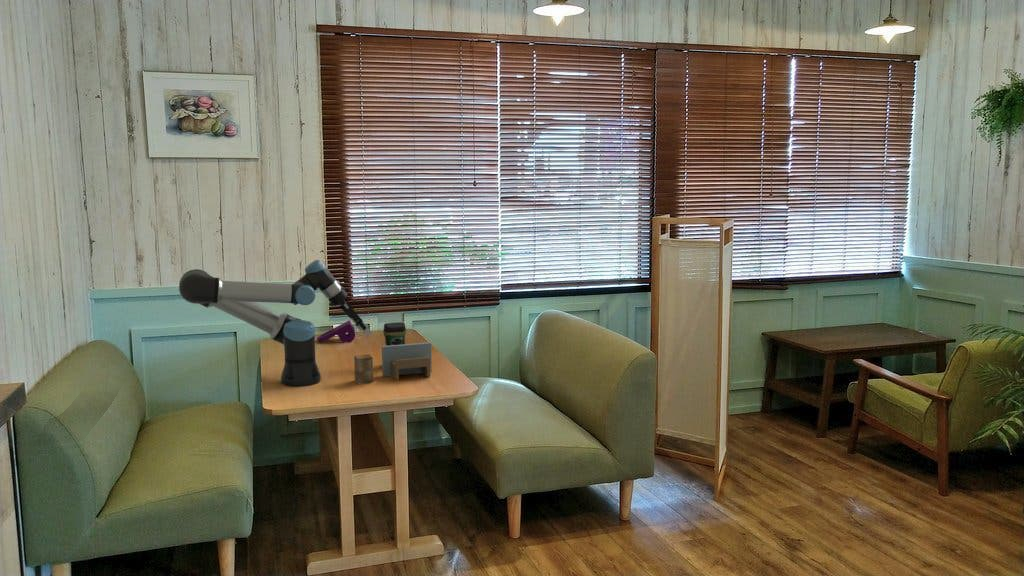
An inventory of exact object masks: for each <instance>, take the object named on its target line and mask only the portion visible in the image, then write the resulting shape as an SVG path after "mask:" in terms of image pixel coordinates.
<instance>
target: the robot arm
mask: <svg viewBox="0 0 1024 576" xmlns="http://www.w3.org/2000/svg"><path fill="white" fill-rule="evenodd" d="M304 272H305V274H304V275H303V276H301V277H300V278H299V279H297V280H296V281H295V282H294V283H277V282H275V283H274V282H258V281H257V282H255V281H238V280H237V281H235V280H233V281H232V280H222V279H221V277H214V276H212V275H210V274H209V273H208V272H207V271H205V270H203V269H199V268H198V269H196V268H193V269H190V270H188V271H186V272H185V273H184V274H183V275H182V276H181V277H180V280H179V283H178V284H179V285H178V290H179V294H180V296H181V298H182V299H184V301H186V302H188V303H191V304H193V305H194V304H196V305H200V306H203V307H205V308H207V309H208V308H211V307H214V308H216V309H218V310H219V311H220V310H221V311H222V312H225V313H226V314H229V315H231V316H232V317H234V318H236V319H239V320H241V321H243V322H245V323H247V324H249V325H251V326H253V327H254V328H255V327H256V328H257V329H259V330H261V331H263V332H265V333H268V334H269V336H270V339H271V340H273V341H275V342H277V343H279V344H282V345H283V347H284V365H283V370H282V373H281V375H280V376H281V377H280V384H282V385H283V384H285V386H288V385H290V386H289V387H303V386H302V385H305V386H311V385H315V384H318V383H320V382H321V381H322V379H321V378H322V377H321V372H320V370H319V367H318V365H317V361H316V337H315V335H316V329H315V325H314V323H312V322H311V321H309V320H308V321H307V320H303V319H301V318H297V317H294V316H292V315H291V314H288V313H286V312H283V313H281V314H280V313H278V312H275V311H273V310H272V309H270V308H267V307H266V306H264V305H263V304H262V305H261V304H260V303H272V304H273V303H277V304H293V305H294V306H297V305H301V306H310V305H311V304H313V303H314V301H315V299H316V293H315V291H317V290H318V289H319V290H320V291H321V292H322V294H323V296H325V297H326V299H328V302H330V303H331V305H332V306H333V307H335V306H337V305H339V308H340V309H341V310H342V311H343V312H344V313H345V314H346V315H347V317H349V319H350V321H351V322H352V323H353V324H354V325H355V326H356V328H357V329H358V330H359V331H360V332H362V333H363V334H364V335H365V337H366V338H368V337H369V336H370V335H372V334H373V332H372V330H371V329H370V328H369V327H368V326H367V324H366V323H365V322H364V320H363V319H362V318H361V317H360V316H359V315H358V313H356V311H355V310H354V307H353V306H352V305H351V303H350V302H349V301H348V300H346V299H347V297H349V296H348V293H347V291H346V290H345V288H342V285H340V281H339V280H337V279H336V278H335V277H334V276H333V274H332V273H331V271H330V270H329V269H328V267H326V265H325V264H324V263H323V262H322V261H321V260H320V259H315V260H313V261H312V262H310V263H309V264H308V265H306V267H305V268H304ZM320 380H321V381H320ZM319 381H320V382H319ZM317 382H318V383H317ZM310 384H311V385H310Z"/></svg>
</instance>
